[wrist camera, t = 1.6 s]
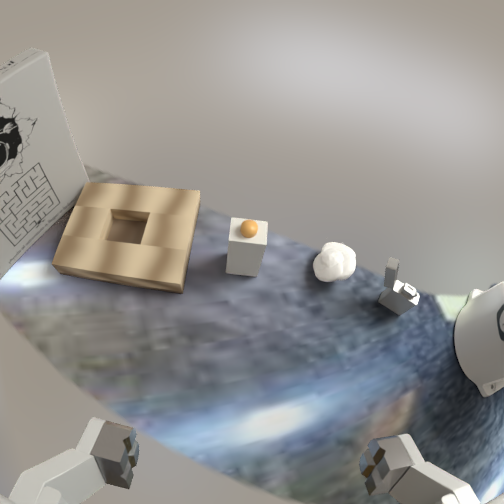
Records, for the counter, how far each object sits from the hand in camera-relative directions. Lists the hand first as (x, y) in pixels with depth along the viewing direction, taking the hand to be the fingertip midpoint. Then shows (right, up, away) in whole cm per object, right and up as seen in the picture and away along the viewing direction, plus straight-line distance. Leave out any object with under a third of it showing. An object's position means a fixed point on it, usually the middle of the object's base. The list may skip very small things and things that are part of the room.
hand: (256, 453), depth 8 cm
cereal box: (-35, +11, +31) cm, 48 cm away
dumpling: (+11, +4, +33) cm, 35 cm away
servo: (-1, +5, +31) cm, 32 cm away
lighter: (+18, 0, +31) cm, 36 cm away
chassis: (-17, +9, +31) cm, 37 cm away
